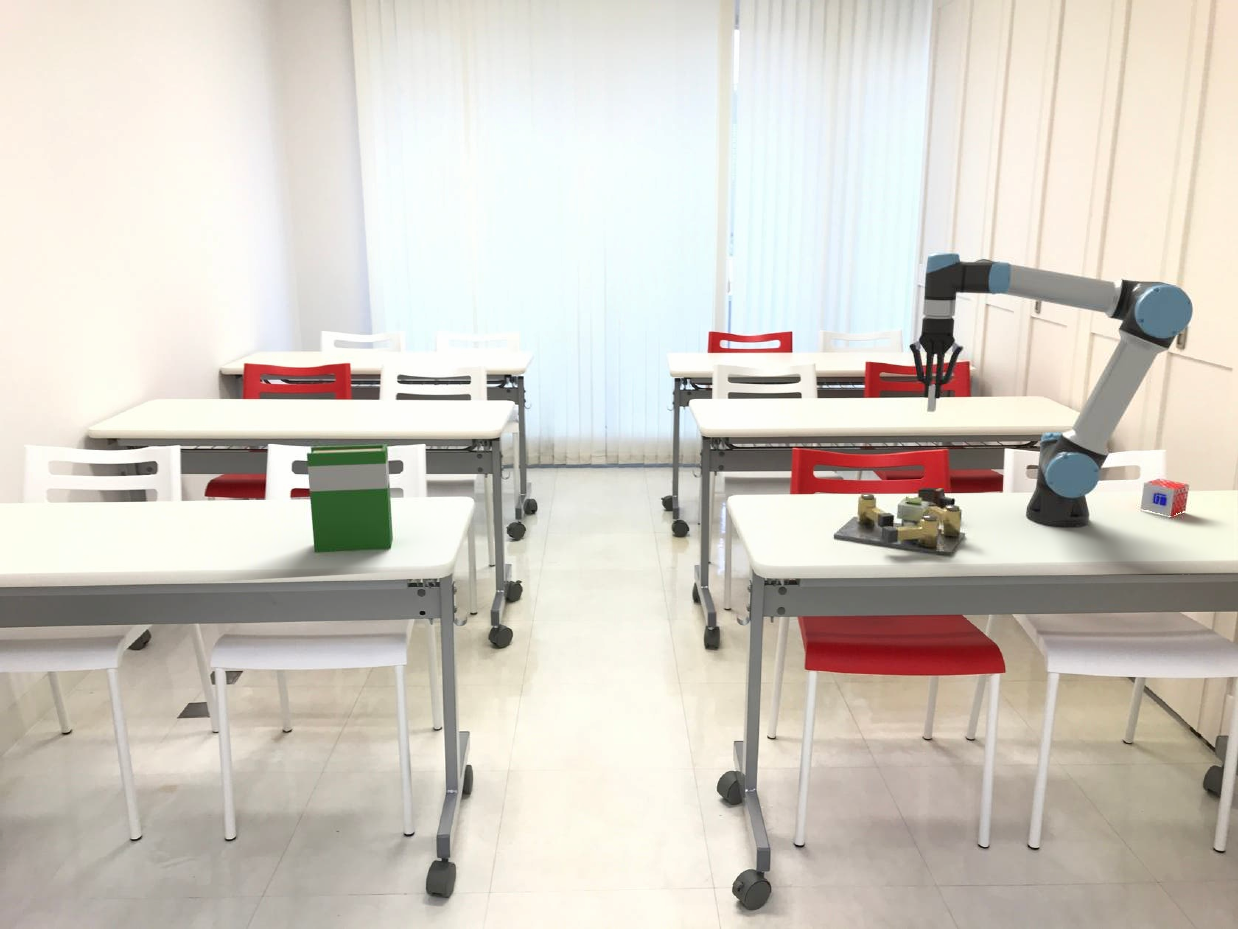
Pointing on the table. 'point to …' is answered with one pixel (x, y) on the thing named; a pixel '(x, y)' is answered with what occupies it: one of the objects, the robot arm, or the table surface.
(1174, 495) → the red and white box
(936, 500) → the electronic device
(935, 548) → the valve board
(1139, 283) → the robot arm
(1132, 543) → the table surface
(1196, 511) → the table surface
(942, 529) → the knob
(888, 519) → the knob
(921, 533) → the knob
